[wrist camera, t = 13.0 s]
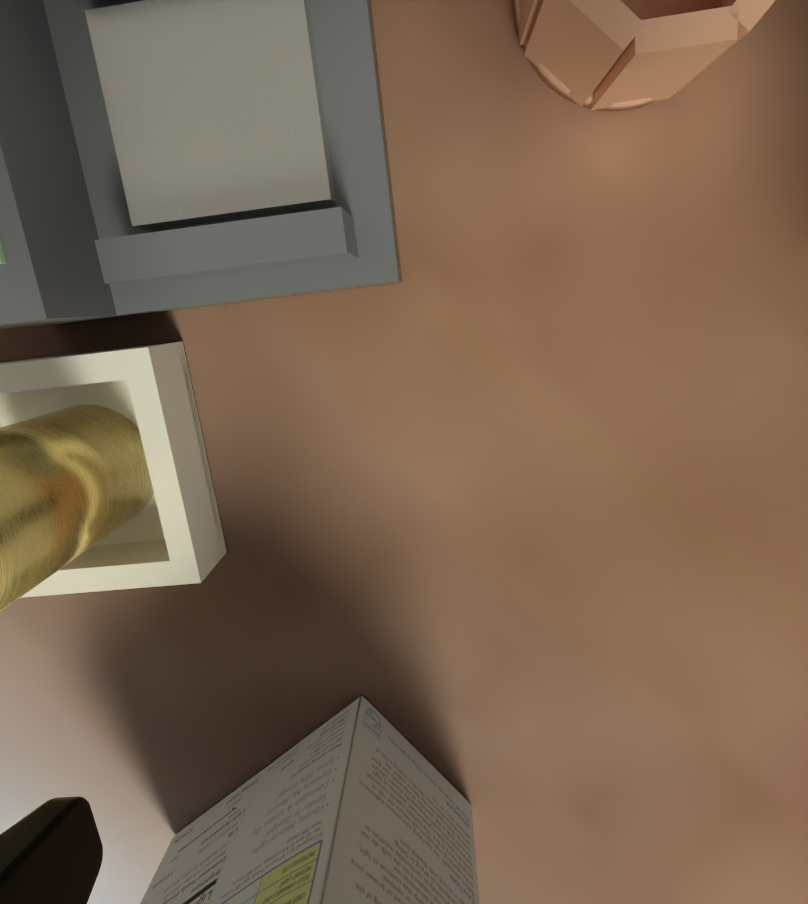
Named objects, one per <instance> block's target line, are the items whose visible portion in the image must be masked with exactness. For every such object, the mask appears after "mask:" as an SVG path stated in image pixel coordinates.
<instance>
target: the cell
mask: <svg viewBox="0 0 808 904" xmlns="http://www.w3.org/2000/svg"><path fill="white" fill-rule="evenodd" d="M153 493H154V491H153V487H152V483H151V479H150V474H149V470H148V466H147V462H146V457H145V453H144V449H143V445H142V441H141V436H140V432H139V428H138V427H137V426H136V425H135V424H134V423H133V422H132V421H130V420H129V419H128V418H126V417H125V416H123V415H122V414H120V413H118V412H116V411H114V410H112V409H109V408H106V407H103V406H98V405H89V404H88V405H77V406H72V407H69V408H65V409H62V410H58V411H55V412H52V413H48V414H45V415H41V416H38V417H35V418H31V419H28V420H24V421H21V422H18V423H14V424H11V425H7V426H4V427H1V428H0V612H1V611H2V610H3V609H5V608H6V607H8V606H9V605H10V604H12V603H13V602H15V601H16V600H17V599H19V598H20V597H22V596H23V595H24V594H26V593H27V592H29V591H30V590H31V589H33V588H34V587H36V586H37V585H38V584H40V583H41V582H43V581H44V580H45V579H47V578H48V577H50V576H51V575H52V574H54V573H55V572H57V571H58V570H59V569H61V568H62V567H64V566H65V565H66V564H68V563H69V562H71V561H72V560H73V559H75V558H76V557H78V556H79V555H80V554H82V553H83V552H85V551H86V550H87V549H89V548H90V547H92V546H93V545H94V544H96V543H97V542H99V541H100V540H101V539H103V538H104V537H106V536H107V535H108V534H110V533H111V532H113V531H114V530H115V529H117V528H118V527H120V526H121V525H122V524H124V523H125V522H127V521H128V520H129V519H131V518H132V517H134V516H135V515H136V514H138V513H139V512H140V511H141V510H142V509H143V508H144V507H145V506H146V505H147V504H148V502H149V501H150V499H151V497H152V495H153Z"/></svg>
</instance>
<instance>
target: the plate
mask: <svg viewBox="0 0 808 904" xmlns="http://www.w3.org/2000/svg"><path fill="white" fill-rule="evenodd" d="M85 14H86V19H87V23H88V28H89V32H90V37H91V41H92V46H93V50H94V55H95V59H96V64H97V69H98V73H99V78H100V82H101V87H102V91H103V96H104V100H105V105H106V109H107V114H108V119H109V123H110V128H111V132H112V137H113V141H114V146H115V150H116V155H117V159H118V164H119V169H120V173H121V178H122V182H123V187H124V191H125V196H126V200H127V205H128V209H129V214H130V218H131V223H132V226H133V227H138V228H142V229H146V230H150V229H157V228H165V227H172V226H179V225H187V224H194V223H201V222H209V221H216V220H224V219H231V218H238V217H246V216H253V215H260V214H268V213H275V212H282V211H290V210H297V209H305V208H312V207H319V206H327V205H334V204H336V197H335V190H334V183H333V175H332V168H331V160H330V153H329V146H328V138H327V131H326V123H325V116H324V109H323V101H322V94H321V86H320V79H319V72H318V64H317V57H316V49H315V42H314V35H313V27H312V20H311V12H310V5H309V0H143V1H138V2H132V3H126V4H120V5H114V6H108V7H103V8H97V9H91V10H85Z"/></svg>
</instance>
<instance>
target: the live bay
mask: <svg viewBox="0 0 808 904" xmlns="http://www.w3.org/2000/svg"><path fill="white" fill-rule="evenodd" d="M88 404H89V405H98V406H103V407H106V408H109V409H112V410H114V411H116V412H118V413H120V414H122V415H123V416H125V417H126V418H128V419H129V420H130V421H132V422H133V423H134V424H135V425H136V426H137V427H138V428H139V432H140V436H141V441H142V445H143V449H144V453H145V457H146V462H147V466H148V470H149V474H150V479H151V483H152V487H153V491H154V493H153V495H152V497H151V499H150V501H149V502H148V504H147V505H146V506H145V507H144V508H143V509H142V510H141V511H140V512H139V513H138V514H136V515H135V516H134V517H132V518H131V519H129V520H128V521H127V522H125V523H124V524H122V525H121V526H120V527H118V528H117V529H115V530H114V531H113V532H111V533H110V534H108V535H107V536H106V537H104V538H103V539H101V540H100V541H99V542H97V543H96V544H94V545H93V546H92V547H90V548H89V549H87V550H86V551H85V552H83V553H82V554H80V555H79V556H78V557H76V558H75V559H73V560H72V561H71V562H69V563H68V564H66V565H65V566H64V567H62V568H61V569H59V570H58V571H57V572H55V573H54V574H52V575H51V576H50V577H48V578H47V579H45V580H44V581H43V582H41V583H40V584H38V585H37V586H36V587H34V588H33V589H31V590H30V591H29V592H27V593H26V594H24V595H23V596H22V597H33V596H46V595H58V594H71V593H83V592H96V591H108V590H120V589H133V588H145V587H158V586H170V585H183V584H195V583H202V581H203V580H204V579H205V578H206V577H207V575H208V574H209V573H210V572H211V571H212V569H213V568H214V567H215V566H216V565H217V563H218V562H219V561H220V560H221V559H222V557H223V556H224V555H225V554H226V553H227V551H226V546H225V541H224V536H223V531H222V527H221V522H220V517H219V512H218V508H217V503H216V498H215V493H214V488H213V484H212V479H211V474H210V469H209V465H208V460H207V455H206V450H205V445H204V441H203V436H202V431H201V426H200V422H199V417H198V412H197V407H196V402H195V398H194V393H193V388H192V383H191V379H190V374H189V369H188V364H187V359H186V355H185V350H184V345H183V341H181V342H172V343H164V344H155V345H147V346H138V347H130V348H121V349H113V350H104V351H96V352H87V353H79V354H70V355H62V356H53V357H45V358H37V359H28V360H20V361H11V362H3V363H0V428H1V427H4V426H7V425H11V424H14V423H18V422H21V421H24V420H28V419H31V418H35V417H38V416H41V415H45V414H48V413H52V412H55V411H58V410H62V409H65V408H69V407H72V406H77V405H88ZM20 598H21V597H20Z"/></svg>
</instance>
